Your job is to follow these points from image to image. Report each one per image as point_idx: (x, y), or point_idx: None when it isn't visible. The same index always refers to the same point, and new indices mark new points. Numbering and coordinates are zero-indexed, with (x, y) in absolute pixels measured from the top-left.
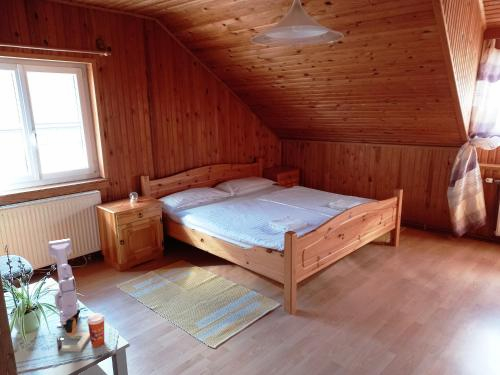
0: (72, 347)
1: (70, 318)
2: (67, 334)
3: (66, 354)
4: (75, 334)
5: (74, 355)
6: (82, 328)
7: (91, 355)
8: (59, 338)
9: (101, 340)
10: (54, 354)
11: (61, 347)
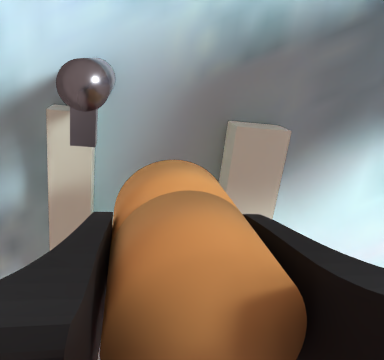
0: (62, 212)
1: (279, 318)
2: (122, 189)
3: (13, 167)
4: (250, 167)
5: (6, 233)
6: (348, 168)
7: None
8: (91, 91)
9: None
10: (5, 58)
11: (58, 113)
